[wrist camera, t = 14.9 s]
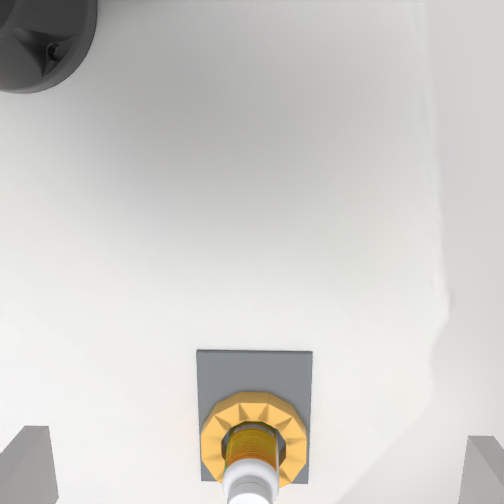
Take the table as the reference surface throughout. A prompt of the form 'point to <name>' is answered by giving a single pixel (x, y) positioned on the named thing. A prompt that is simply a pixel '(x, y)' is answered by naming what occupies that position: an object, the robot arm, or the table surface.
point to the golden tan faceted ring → (255, 409)
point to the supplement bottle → (251, 464)
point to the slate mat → (255, 386)
